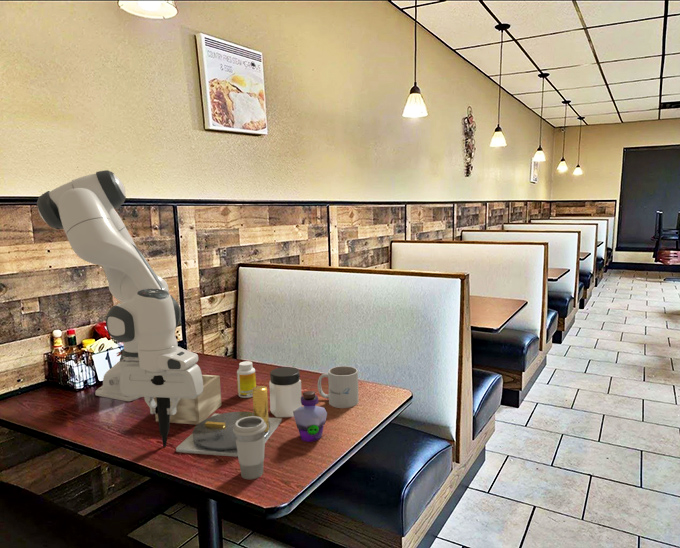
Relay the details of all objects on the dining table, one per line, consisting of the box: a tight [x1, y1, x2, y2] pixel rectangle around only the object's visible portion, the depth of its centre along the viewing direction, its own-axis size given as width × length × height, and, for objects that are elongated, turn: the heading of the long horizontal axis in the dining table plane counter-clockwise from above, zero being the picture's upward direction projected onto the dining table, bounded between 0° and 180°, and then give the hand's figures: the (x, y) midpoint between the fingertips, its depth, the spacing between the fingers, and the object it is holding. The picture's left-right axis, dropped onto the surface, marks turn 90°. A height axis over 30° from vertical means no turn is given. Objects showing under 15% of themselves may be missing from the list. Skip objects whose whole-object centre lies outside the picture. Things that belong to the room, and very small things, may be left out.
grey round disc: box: [192, 385, 270, 450], centre depth 121 cm, size 19×19×12 cm
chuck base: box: [175, 412, 283, 458], centre depth 122 cm, size 20×20×1 cm
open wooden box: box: [153, 374, 222, 426], centre depth 136 cm, size 13×13×9 cm
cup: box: [233, 416, 267, 480], centre depth 103 cm, size 7×7×12 cm
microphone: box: [151, 375, 171, 448], centre depth 116 cm, size 6×6×20 cm
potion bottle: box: [293, 390, 328, 443], centre depth 119 cm, size 9×9×12 cm
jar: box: [268, 366, 303, 418], centre depth 135 cm, size 9×8×12 cm
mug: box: [317, 365, 359, 409], centre depth 141 cm, size 12×9×10 cm
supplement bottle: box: [236, 360, 257, 399], centre depth 148 cm, size 6×6×10 cm
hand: (163, 413), depth 116 cm, fingers closed on microphone, 3 cm apart
